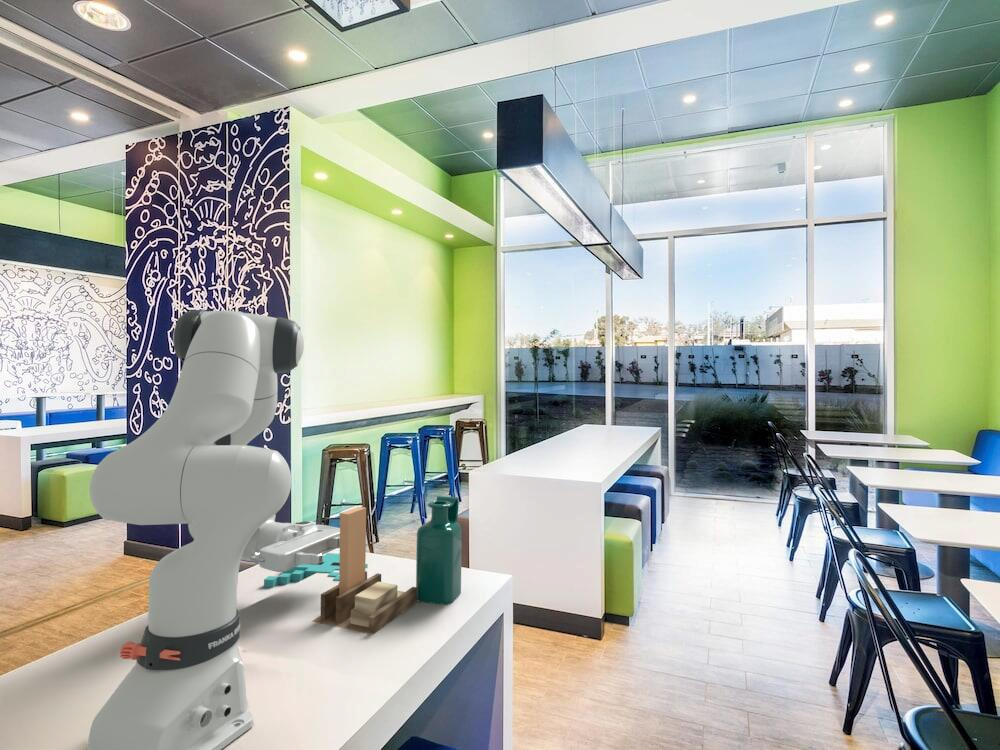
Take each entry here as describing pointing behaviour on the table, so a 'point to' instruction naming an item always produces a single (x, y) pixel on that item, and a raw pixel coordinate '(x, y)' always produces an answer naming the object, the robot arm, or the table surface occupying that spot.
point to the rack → (340, 607)
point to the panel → (352, 548)
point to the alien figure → (307, 571)
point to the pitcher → (439, 554)
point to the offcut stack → (372, 601)
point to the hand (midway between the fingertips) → (335, 552)
